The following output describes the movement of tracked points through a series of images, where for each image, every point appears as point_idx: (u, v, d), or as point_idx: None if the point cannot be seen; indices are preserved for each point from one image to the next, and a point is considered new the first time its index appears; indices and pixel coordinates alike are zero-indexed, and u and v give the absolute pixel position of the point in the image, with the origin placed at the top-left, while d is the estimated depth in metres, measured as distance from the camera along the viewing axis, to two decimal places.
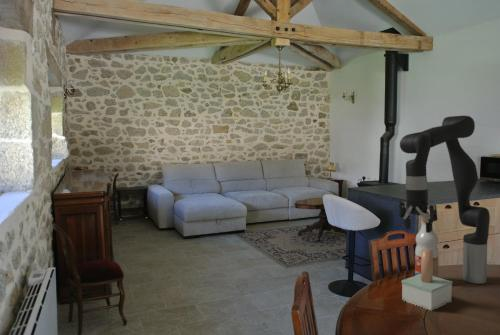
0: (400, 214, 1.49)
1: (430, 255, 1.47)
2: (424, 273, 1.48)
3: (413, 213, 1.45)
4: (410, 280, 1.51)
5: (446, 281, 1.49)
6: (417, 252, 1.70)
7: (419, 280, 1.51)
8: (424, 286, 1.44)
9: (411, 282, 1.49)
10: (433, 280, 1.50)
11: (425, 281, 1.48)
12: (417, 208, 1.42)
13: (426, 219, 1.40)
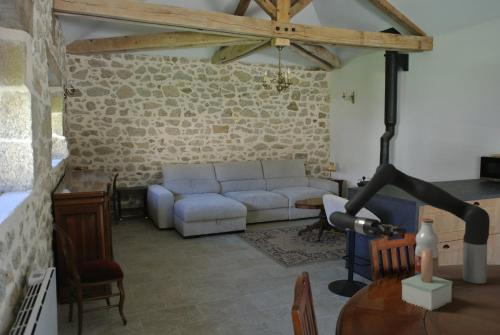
0: None
1: (430, 255, 1.47)
2: (424, 273, 1.48)
3: None
4: (410, 280, 1.51)
5: (446, 281, 1.49)
6: (417, 252, 1.70)
7: (419, 280, 1.51)
8: (424, 286, 1.44)
9: (411, 282, 1.49)
10: (433, 280, 1.50)
11: (425, 281, 1.48)
12: None
13: None
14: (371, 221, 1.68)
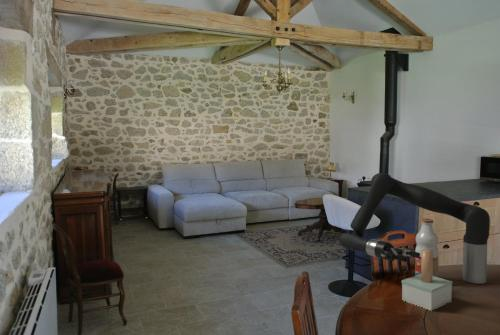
0: None
1: (430, 255, 1.47)
2: (424, 273, 1.48)
3: None
4: (410, 280, 1.51)
5: (446, 281, 1.49)
6: None
7: (419, 280, 1.51)
8: (424, 286, 1.44)
9: (411, 282, 1.49)
10: (433, 280, 1.50)
11: (425, 281, 1.48)
12: None
13: None
14: (383, 244, 1.63)
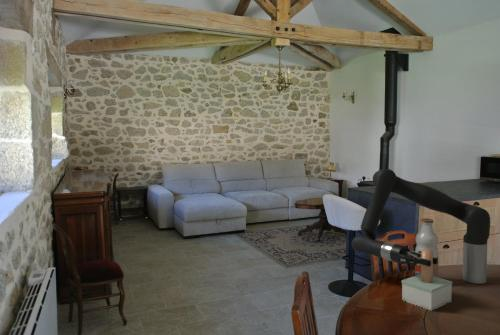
0: None
1: (430, 255, 1.47)
2: (424, 273, 1.48)
3: None
4: (410, 280, 1.51)
5: (446, 281, 1.49)
6: None
7: (419, 280, 1.51)
8: (424, 286, 1.44)
9: (411, 282, 1.49)
10: (433, 280, 1.50)
11: (425, 281, 1.48)
12: None
13: None
14: (399, 248, 1.57)
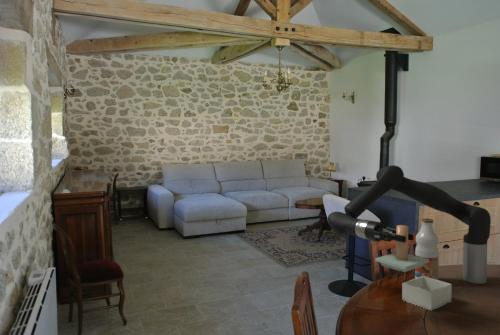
0: None
1: (405, 231, 1.38)
2: (399, 250, 1.39)
3: None
4: (384, 258, 1.41)
5: (423, 259, 1.39)
6: (417, 252, 1.70)
7: (394, 258, 1.41)
8: (398, 263, 1.35)
9: (385, 259, 1.39)
10: (409, 258, 1.41)
11: (400, 259, 1.39)
12: None
13: None
14: (374, 224, 1.47)
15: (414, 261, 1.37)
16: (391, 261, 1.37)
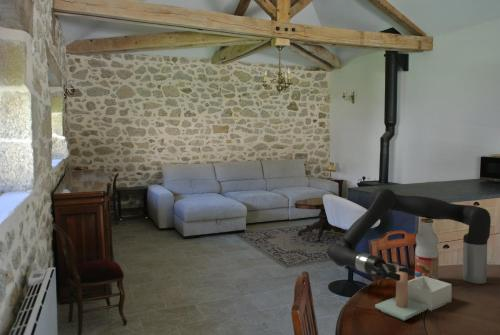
0: None
1: (405, 278, 1.39)
2: (399, 297, 1.40)
3: None
4: (384, 304, 1.42)
5: (422, 306, 1.40)
6: (417, 252, 1.70)
7: (394, 304, 1.42)
8: (398, 312, 1.36)
9: (385, 306, 1.40)
10: (408, 304, 1.42)
11: (400, 306, 1.40)
12: None
13: None
14: (374, 259, 1.48)
15: (414, 309, 1.38)
16: (391, 309, 1.38)
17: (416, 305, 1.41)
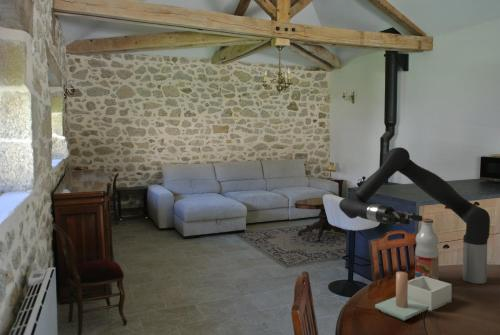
0: None
1: (405, 278, 1.39)
2: (399, 297, 1.40)
3: None
4: (384, 304, 1.42)
5: (422, 306, 1.40)
6: (417, 252, 1.70)
7: (394, 304, 1.42)
8: (398, 312, 1.36)
9: (385, 306, 1.40)
10: (408, 304, 1.42)
11: (400, 306, 1.40)
12: None
13: None
14: (385, 208, 1.59)
15: (414, 309, 1.38)
16: (391, 309, 1.38)
17: (416, 305, 1.41)
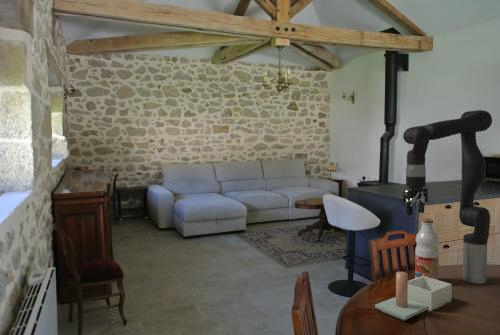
0: None
1: (405, 278, 1.39)
2: (399, 297, 1.40)
3: None
4: (384, 304, 1.42)
5: (422, 306, 1.40)
6: (417, 252, 1.70)
7: (394, 304, 1.42)
8: (398, 312, 1.36)
9: (385, 306, 1.40)
10: (408, 304, 1.42)
11: (400, 306, 1.40)
12: None
13: None
14: (419, 184, 1.57)
15: (414, 309, 1.38)
16: (391, 309, 1.38)
17: (416, 305, 1.41)
